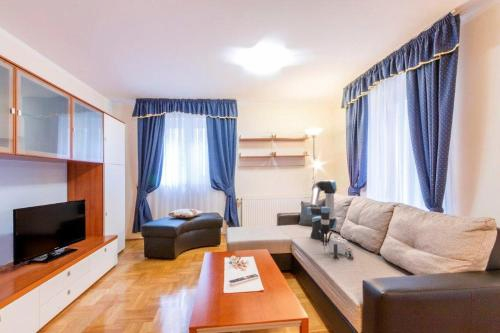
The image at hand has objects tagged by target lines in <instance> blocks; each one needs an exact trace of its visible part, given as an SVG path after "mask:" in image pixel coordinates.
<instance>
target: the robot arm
mask: <svg viewBox="0 0 500 333" xmlns="http://www.w3.org/2000/svg"><path fill="white" fill-rule="evenodd" d="M311 191H312V192H311V198H310V204H309V206H307V207H306V214H307V215H310V216H311V215H312V218H311V233H310V239H313V240H320V243H322V246H323V250H324V251H326V247H327V246H328V243H329V240H331V235H332V234H333V232H332V231H331V230H336V229H337V223H338V219H337V217H336V216H335V194H336V192H338V189H337V182H336V181H335V180H330V179H329V180H326V179H325V180H323V179H322V180H317V181H316V182H315V183H314V184H313V185H312V187H311ZM321 192H323V193H324V194H325V206H321V207H319V199H320V193H321ZM328 234H329V235H328Z"/></svg>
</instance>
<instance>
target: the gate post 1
mask: <svg viewBox="0 0 500 333" xmlns="http://www.w3.org/2000/svg"><path fill="white" fill-rule="evenodd" d="M338 255H339V254H338V248H337V244H334V253H333V257H332V260H336V259H337V260H339V257H338Z"/></svg>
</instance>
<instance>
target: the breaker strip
mask: <svg viewBox="0 0 500 333" xmlns="http://www.w3.org/2000/svg"><path fill="white" fill-rule="evenodd" d="M346 256H347V257H346V258H347V260H351V259H352V260H353V258H354V257H353V251H352V249H351V247H347V251H346Z"/></svg>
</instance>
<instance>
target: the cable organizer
mask: <svg viewBox="0 0 500 333" xmlns="http://www.w3.org/2000/svg"><path fill="white" fill-rule="evenodd" d="M334 237H335V236H333V237H331V238H330V239H329V242H328V251H329V253H333V254H334V244H337V248H338V255H345V254H347V249H348V240H347V239H345V238H340V237H338V238H334Z"/></svg>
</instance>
